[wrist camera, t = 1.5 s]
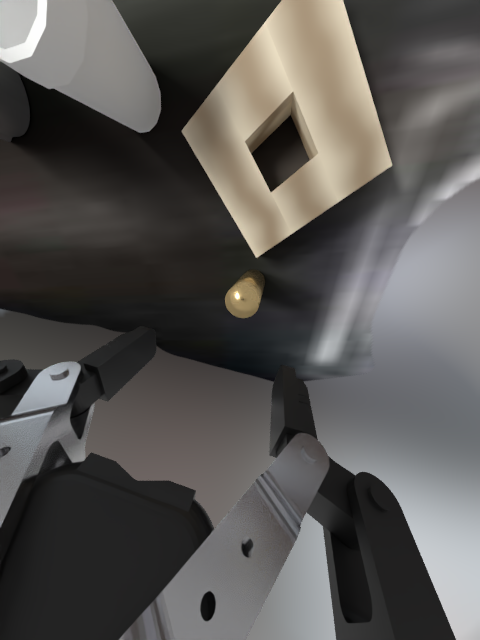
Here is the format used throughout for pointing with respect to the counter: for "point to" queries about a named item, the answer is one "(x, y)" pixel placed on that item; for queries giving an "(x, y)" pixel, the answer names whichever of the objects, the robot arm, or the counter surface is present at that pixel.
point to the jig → (307, 113)
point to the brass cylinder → (245, 294)
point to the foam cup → (81, 56)
